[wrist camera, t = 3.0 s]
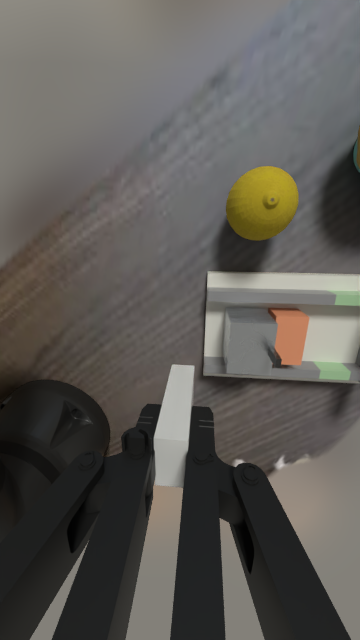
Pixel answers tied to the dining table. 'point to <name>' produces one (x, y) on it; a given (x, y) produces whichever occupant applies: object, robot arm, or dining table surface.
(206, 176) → the dining table surface
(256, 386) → the dining table surface
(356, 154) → the cupcake
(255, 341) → the gauge plunger
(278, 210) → the lemon
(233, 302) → the board
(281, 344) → the orange block
